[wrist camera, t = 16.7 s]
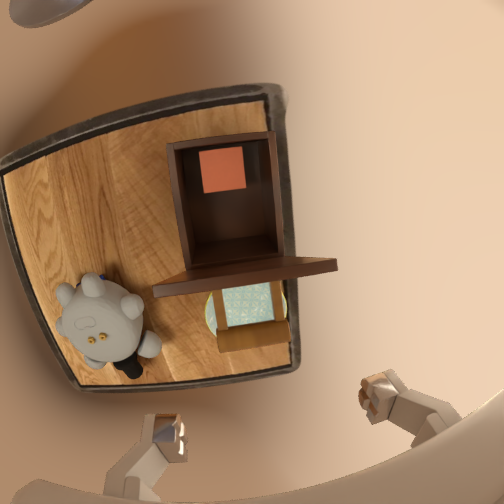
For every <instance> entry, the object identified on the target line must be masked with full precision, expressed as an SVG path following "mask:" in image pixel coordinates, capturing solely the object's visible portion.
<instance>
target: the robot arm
mask: <svg viewBox="0 0 504 504" xmlns="http://www.w3.org/2000/svg"><path fill="white" fill-rule="evenodd" d="M361 386H362V388H361V389H360V391H359V395H358V397H359V402H360V405H361V407H362V408H363V409H364V410H367V415H366V416H367V417H368V419H369V421H370V422H371V424H372V425H373V424H376V423H379V422H381V421H384V420H387V419H388V420H389V421H390V422H392V423H394V424H396V425H397V426H399V427H401V428H402V429H404V430H406V431H408V432H410V433H411V434H413V435H415V436H416V437H415V438H414V440H413V442H412V444H411V447H412V449H410V450H408V451H406V452H404V453H402V454H400V455H398V456H395V457H393V458H391V459H389V460H386V461H384V462H382V463H379V464H377V465H374V466H372V467H369V468H367V469H364V470H362V471H359V472H356V473H354V474H351V475H348V476H345V477H342V478H339V479H335V480H332V481H329V482H325V483H322V484H318V485H315V486H311V487H307V488H303V489H299V490H295V491H289V492H285V493H280V494H274V495H269V496H262V497H256V498H248V499H240V500H230V501H217V502H190V503H189V502H185V503H184V502H161V499H160V497H158V496H157V495H156V494H155V493H154V492H153V491H152V490H151V489H152V488H153V486H154V485H155V483H156V482H157V481H158V479H159V478H160V476H161V475H162V474H163V472H164V471H165V469H166V468H167V466H168V465H169V463H177V462H187V453H188V452H187V449H186V447H185V445H186V444H187V442H188V437H187V431H186V427H185V425H184V424H183V423H181V417H180V415H179V414H146V415H145V416H144V420H143V426H142V432H141V438H140V443H136V444H135V445H134V446H133V447H132V448H131V449H130V450H129V451H128V452H127V453H126V454H125V455H124V456H123V457H122V458H121V459H120V460H119V461H118V462H117V463H116V464H115V465H114V466H113V467H112V468H111V469H110V470H109V471H108V472H107V475H106V481H105V486H104V492H103V495H100V494H94V493H90V492H85V491H81V490H77V489H73V488H69V487H65V486H61V485H58V484H54V483H51V482H48V481H45V480H42V479H36V480H34V481H32V482H30V483H29V484H27V485H25V486H24V487H23V488H21V489H20V490H18V491H17V492H16V494H15V495H14V497H13V499H12V502H11V503H10V504H504V388H503V389H502V390H501V391H499V392H498V393H497V394H496V395H495V396H493V397H492V398H491V399H489V400H488V401H487V402H486V403H484V404H483V405H482V406H480V407H479V408H477V409H476V410H475V411H473V412H472V413H470V414H469V415H468V416H466V417H465V418H463V419H462V418H461V417H460V415H459V414H458V413H457V412H456V410H455V409H454V408H453V407H452V406H451V404H450V403H448V402H445V401H442V400H439V399H436V398H434V397H431V396H428V395H425V394H423V393H420V392H417V391H415V390H412V389H410V390H408V388H407V387H406V386H405V385H404V383H403V382H402V381H401V380H400V378H399V377H398V376H397V375H396V373H395V372H394V371H393V370H392V369H390V370H387V371H384V372H382V373H378V374H376V375H372V376H370V377H367V378H364V379H362V381H361Z"/></svg>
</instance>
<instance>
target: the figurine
mask: <svg viewBox="0 0 504 504" xmlns="http://www.w3.org/2000/svg"><path fill="white" fill-rule="evenodd" d="M56 296H57V299H58V301H59V303H60V304H61V305H62V307H63V308H64V309H63V312H62V316H61V317H59V318H58V319H57V321H56V329H57V331H58V333H59V334H60V335H62V336H64V337H67V338H68V339H69V341H70V342H71V343H72V344H73V346H74V347H75V348H76V349H77V350H79V351H80V352H81V353H82V354H84V360H85V362H86V364H87V365H88V366H89V367H91V368H93V369H101V368H103V367H104V366H105V365H106V363H107V362H113V364H114V366H115V367H116V369H118V370H123V371H124V373H125V374H126V375H127V376H128V377H129V378H130V379H136V378H138V377H140V376H141V375H142V373H143V367H142V366H141V364H140V363H139V362H138V360H137V353H136V352H135V350H136V348H137V346H138V344H139V341H140V337H141V332H142V327H143V315H142V313H143V310H144V303H143V300H142V299H141V297H140V296H138V295H137V294H130V293H129V292H128V291H127V290H126V289H124V288H123V287H121V286H120V285H118V284H116V283H114V282H111V281H108V280H106V279H105V278H104V276H103V275H100V276H98V275H97V274H96V273H94V272H91V273H87V274H85V275H84V276H83V278H82V280H81V283H78V284H77V285H76V288H75V289H74V287H73V286H72V285H70V284H69V283H65V282H64V283H62V284H60V285H59V286H58V288H57V289H56ZM161 348H162V342H161V339H160V338H159V336H158V335H157V334H155V333H154V332H151V331H149V330H146V331H145V333H144V334H143V337H142V339H141V342H140V345H139V349H138V355H140V356H143V357H145V358H153V357H155V356H157V355H158V354H159V353H160V351H161Z"/></svg>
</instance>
